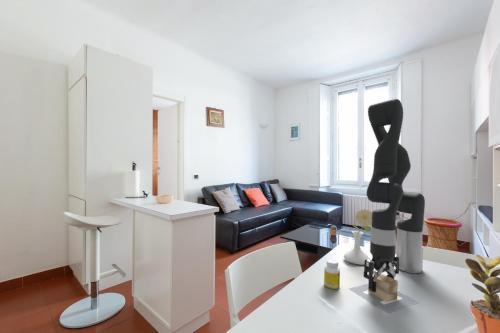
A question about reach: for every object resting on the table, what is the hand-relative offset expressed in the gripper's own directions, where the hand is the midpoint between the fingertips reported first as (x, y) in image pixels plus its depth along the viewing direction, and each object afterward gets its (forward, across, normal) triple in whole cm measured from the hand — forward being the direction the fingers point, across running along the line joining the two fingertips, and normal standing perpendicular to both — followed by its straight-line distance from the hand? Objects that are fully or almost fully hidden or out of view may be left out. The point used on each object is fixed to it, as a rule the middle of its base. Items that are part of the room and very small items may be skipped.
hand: (381, 288), depth 80 cm
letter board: (+3, 0, 0) cm, 3 cm away
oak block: (+2, 0, 0) cm, 2 cm away
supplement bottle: (+3, +12, -11) cm, 16 cm away
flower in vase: (+3, -16, -24) cm, 29 cm away
